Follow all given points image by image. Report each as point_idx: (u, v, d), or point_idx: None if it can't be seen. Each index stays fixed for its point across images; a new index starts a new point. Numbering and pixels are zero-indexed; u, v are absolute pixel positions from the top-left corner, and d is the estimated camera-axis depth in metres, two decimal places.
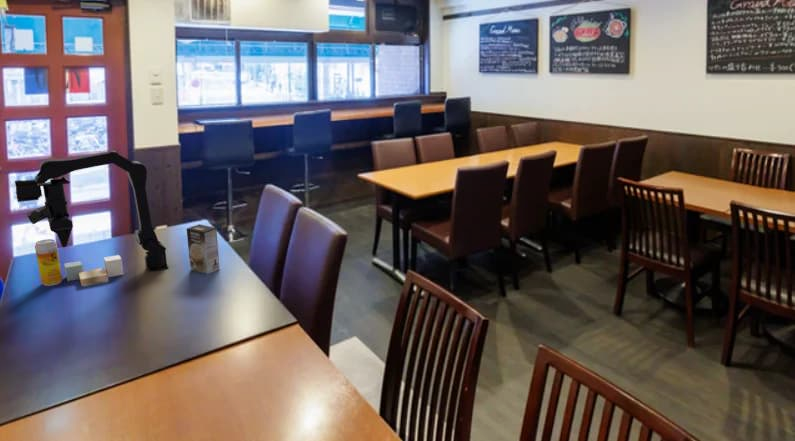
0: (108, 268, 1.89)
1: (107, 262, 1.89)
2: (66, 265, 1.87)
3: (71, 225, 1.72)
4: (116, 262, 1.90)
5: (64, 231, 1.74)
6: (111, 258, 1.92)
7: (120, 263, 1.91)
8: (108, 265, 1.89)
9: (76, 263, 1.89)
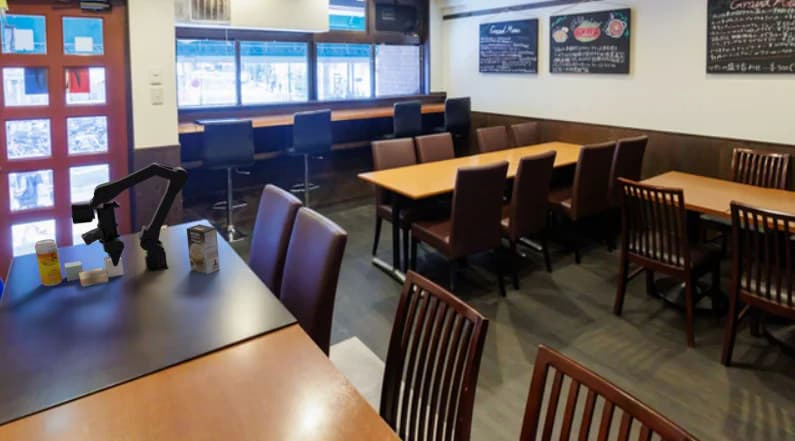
0: (108, 268, 1.89)
1: (107, 262, 1.89)
2: (66, 265, 1.87)
3: (123, 246, 1.84)
4: None
5: (116, 251, 1.87)
6: None
7: (120, 263, 1.91)
8: (108, 265, 1.89)
9: (76, 263, 1.89)
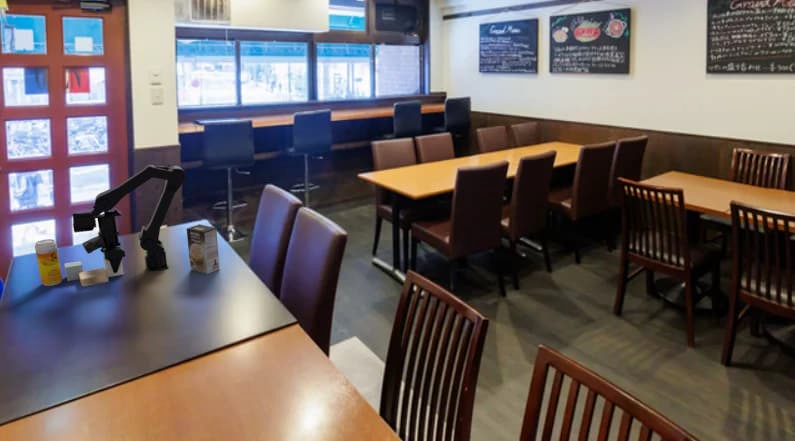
0: (108, 268, 1.89)
1: (107, 262, 1.89)
2: (66, 265, 1.87)
3: (124, 255, 1.85)
4: None
5: (116, 258, 1.89)
6: None
7: (120, 263, 1.91)
8: (108, 265, 1.89)
9: (76, 263, 1.89)
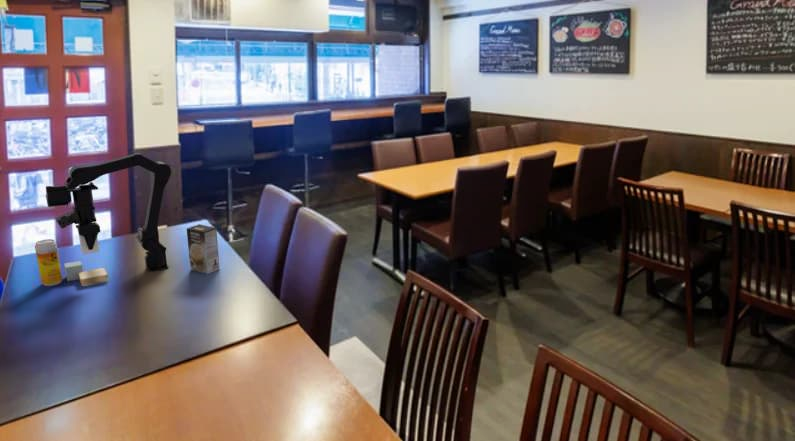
0: (83, 244, 1.81)
1: (82, 238, 1.80)
2: (66, 265, 1.87)
3: (99, 230, 1.77)
4: None
5: (91, 234, 1.80)
6: None
7: None
8: (83, 241, 1.81)
9: (76, 263, 1.89)
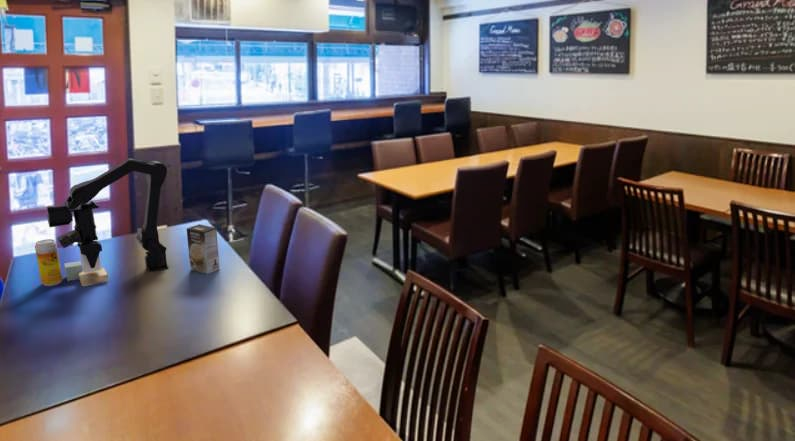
0: (85, 263, 1.82)
1: (83, 257, 1.81)
2: (66, 265, 1.87)
3: (100, 249, 1.78)
4: None
5: (93, 253, 1.82)
6: None
7: None
8: (85, 260, 1.82)
9: (76, 263, 1.89)
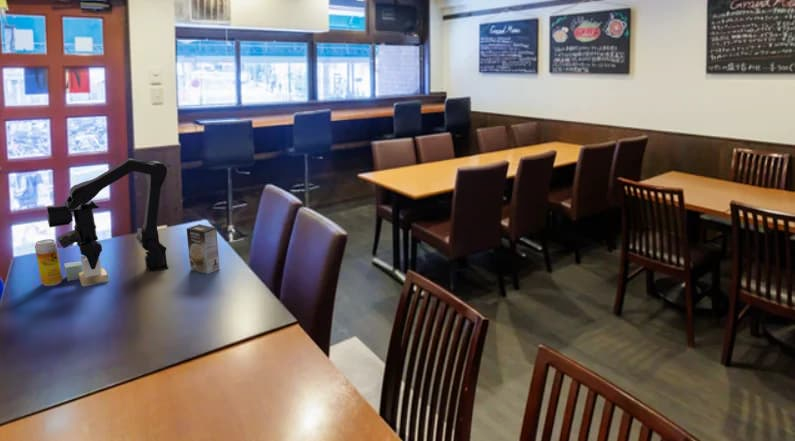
0: (85, 267, 1.83)
1: (84, 261, 1.82)
2: (66, 265, 1.87)
3: (100, 249, 1.78)
4: None
5: (93, 254, 1.81)
6: None
7: (98, 262, 1.84)
8: (85, 264, 1.82)
9: (76, 263, 1.89)
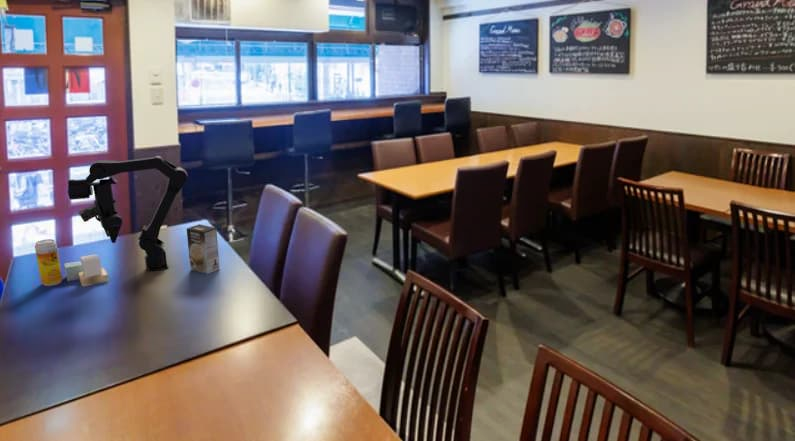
0: (85, 268, 1.82)
1: (84, 261, 1.82)
2: (66, 265, 1.87)
3: (121, 222, 1.84)
4: (94, 261, 1.83)
5: (114, 228, 1.86)
6: (88, 257, 1.85)
7: (98, 262, 1.84)
8: (85, 265, 1.82)
9: (76, 263, 1.89)
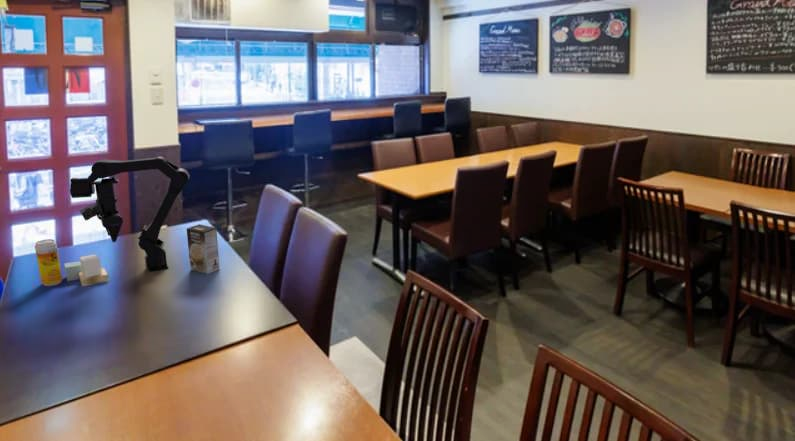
0: (85, 268, 1.82)
1: (84, 262, 1.82)
2: (66, 265, 1.87)
3: (121, 221, 1.84)
4: (94, 261, 1.84)
5: (114, 227, 1.86)
6: (87, 257, 1.85)
7: (98, 262, 1.85)
8: (85, 265, 1.82)
9: (76, 263, 1.89)
